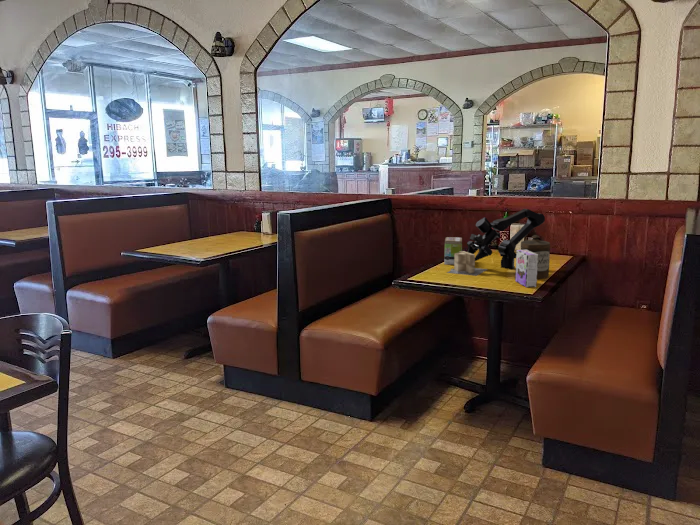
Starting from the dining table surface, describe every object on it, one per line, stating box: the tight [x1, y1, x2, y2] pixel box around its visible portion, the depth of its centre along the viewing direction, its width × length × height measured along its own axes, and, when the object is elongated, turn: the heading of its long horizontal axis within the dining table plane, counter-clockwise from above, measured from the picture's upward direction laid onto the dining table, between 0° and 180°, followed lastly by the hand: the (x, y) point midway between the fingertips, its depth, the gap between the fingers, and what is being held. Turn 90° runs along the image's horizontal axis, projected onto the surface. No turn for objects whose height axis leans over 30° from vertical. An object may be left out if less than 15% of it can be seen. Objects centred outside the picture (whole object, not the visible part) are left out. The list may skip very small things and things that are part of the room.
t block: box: [453, 250, 476, 273], centre depth 306 cm, size 8×12×10 cm, turn 18°
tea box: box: [443, 236, 463, 265], centre depth 331 cm, size 15×10×15 cm, turn 168°
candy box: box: [515, 249, 538, 288], centre depth 276 cm, size 14×6×16 cm, turn 5°
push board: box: [446, 267, 488, 277], centre depth 307 cm, size 17×18×2 cm
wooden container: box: [520, 234, 551, 280], centre depth 292 cm, size 15×15×22 cm
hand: (469, 259), depth 307 cm, fingers open, 9 cm apart
